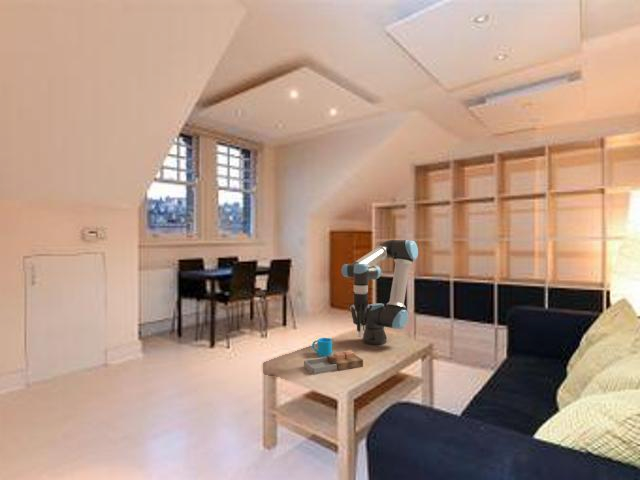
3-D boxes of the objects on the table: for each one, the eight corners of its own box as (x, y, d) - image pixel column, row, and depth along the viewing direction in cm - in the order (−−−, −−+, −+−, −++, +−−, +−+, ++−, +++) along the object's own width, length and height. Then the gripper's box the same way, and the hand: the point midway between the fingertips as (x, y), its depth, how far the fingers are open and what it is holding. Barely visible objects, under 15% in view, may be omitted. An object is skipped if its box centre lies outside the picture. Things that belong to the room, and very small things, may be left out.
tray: (326, 362, 209) (326, 356, 208) (337, 370, 198) (337, 364, 197) (304, 366, 203) (304, 360, 203) (313, 374, 192) (313, 368, 192)
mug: (334, 353, 224) (334, 338, 223) (328, 357, 216) (328, 342, 216) (315, 350, 229) (315, 336, 229) (308, 354, 222) (308, 340, 221)
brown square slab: (349, 357, 215) (349, 351, 215) (363, 366, 202) (362, 359, 202) (326, 361, 210) (326, 355, 209) (338, 370, 197) (338, 363, 197)
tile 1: (341, 356, 208) (341, 351, 208) (345, 359, 204) (345, 354, 203) (333, 357, 206) (333, 352, 206) (337, 360, 202) (337, 355, 202)
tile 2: (350, 354, 210) (350, 350, 210) (354, 357, 206) (354, 352, 206) (342, 356, 208) (342, 351, 208) (346, 358, 204) (346, 353, 204)
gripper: (367, 290, 215) (367, 334, 215) (346, 292, 209) (346, 336, 210) (375, 293, 208) (375, 337, 208) (353, 294, 202) (353, 340, 203)
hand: (360, 337), depth 209 cm, fingers closed
